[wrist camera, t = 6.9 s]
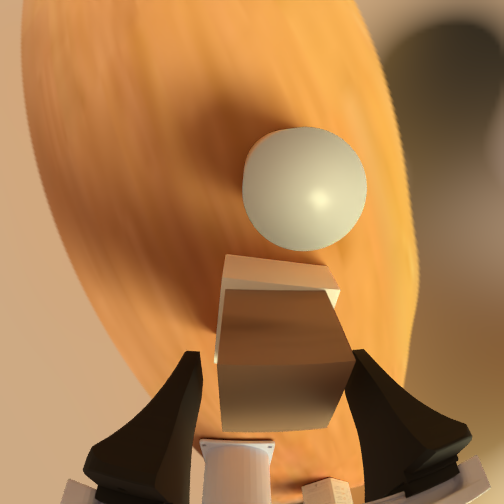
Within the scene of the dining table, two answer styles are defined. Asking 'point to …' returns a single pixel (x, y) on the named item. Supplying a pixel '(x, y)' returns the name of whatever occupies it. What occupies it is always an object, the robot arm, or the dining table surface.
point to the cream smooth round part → (303, 188)
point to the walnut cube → (280, 360)
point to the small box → (327, 492)
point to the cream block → (272, 279)
